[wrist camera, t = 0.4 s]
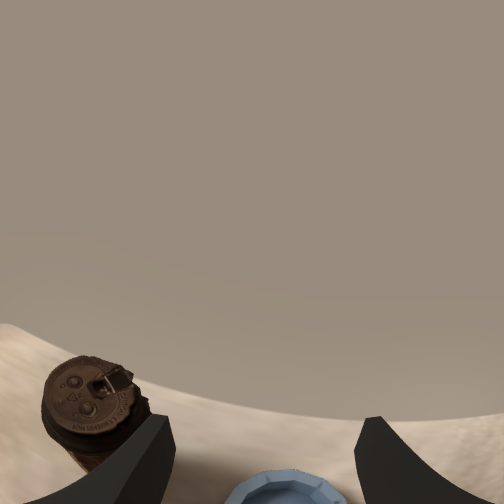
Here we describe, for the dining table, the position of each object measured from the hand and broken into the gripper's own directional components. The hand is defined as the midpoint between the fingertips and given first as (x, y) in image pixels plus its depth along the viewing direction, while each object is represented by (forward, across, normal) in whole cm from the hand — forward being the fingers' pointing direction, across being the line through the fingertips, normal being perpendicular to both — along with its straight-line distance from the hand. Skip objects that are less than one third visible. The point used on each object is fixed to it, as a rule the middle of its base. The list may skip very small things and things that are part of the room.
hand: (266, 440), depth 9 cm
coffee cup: (+8, +14, +17) cm, 23 cm away
